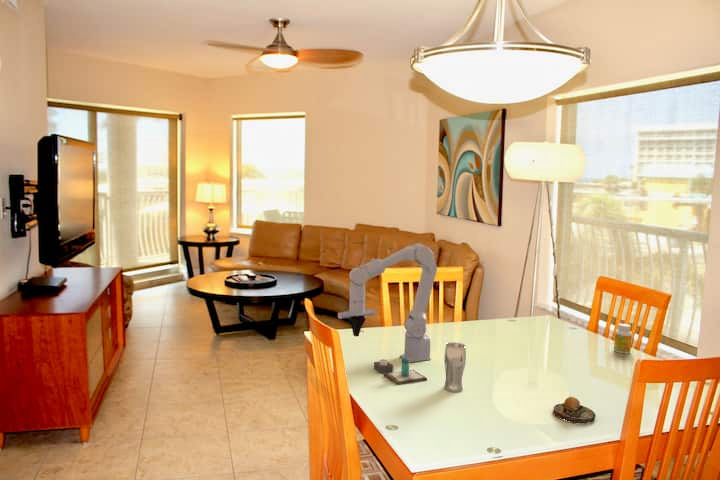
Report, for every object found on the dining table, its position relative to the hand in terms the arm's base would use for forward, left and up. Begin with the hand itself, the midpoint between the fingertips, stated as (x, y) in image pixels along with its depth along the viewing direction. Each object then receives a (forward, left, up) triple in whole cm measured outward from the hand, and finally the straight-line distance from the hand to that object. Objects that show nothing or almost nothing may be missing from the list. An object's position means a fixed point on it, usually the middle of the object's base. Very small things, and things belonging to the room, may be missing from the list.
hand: (355, 335), depth 218 cm
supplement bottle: (-110, +28, -10) cm, 114 cm away
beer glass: (-18, +38, -10) cm, 43 cm away
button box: (-4, +14, -9) cm, 17 cm away
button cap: (-4, +14, -9) cm, 17 cm away
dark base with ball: (-40, +69, -10) cm, 80 cm away
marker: (-8, +24, -8) cm, 26 cm away
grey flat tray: (-8, +24, -9) cm, 27 cm away
